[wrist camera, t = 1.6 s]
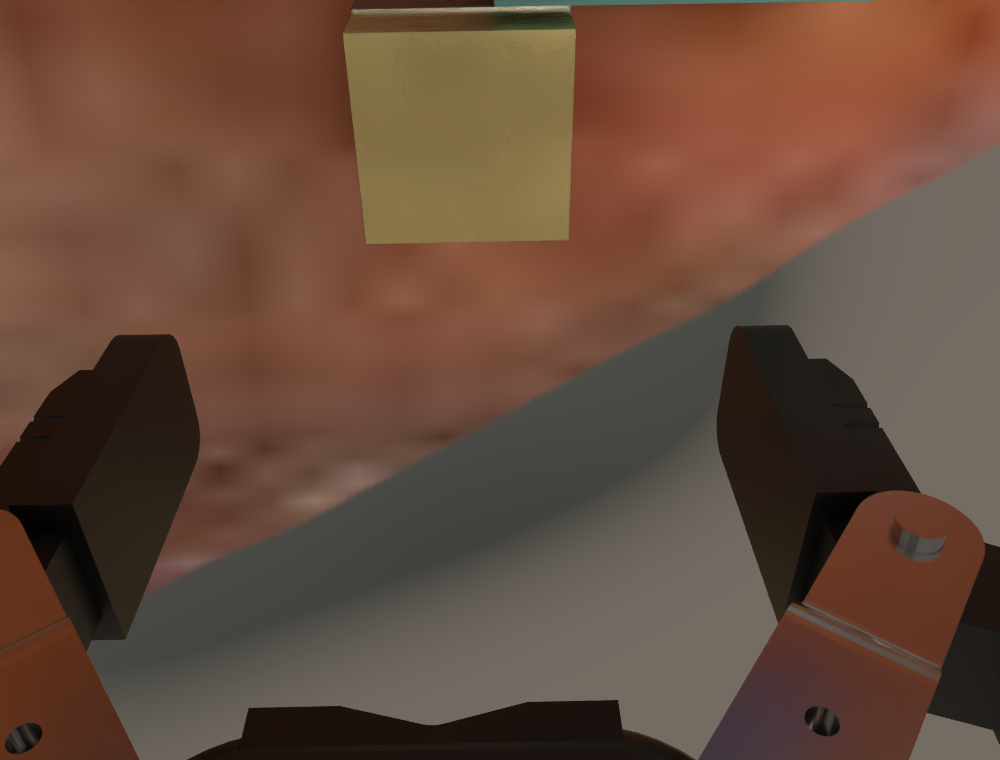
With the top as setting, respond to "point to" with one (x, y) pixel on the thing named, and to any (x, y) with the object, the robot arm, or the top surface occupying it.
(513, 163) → the yellow cube
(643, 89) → the top surface
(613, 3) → the cradle
